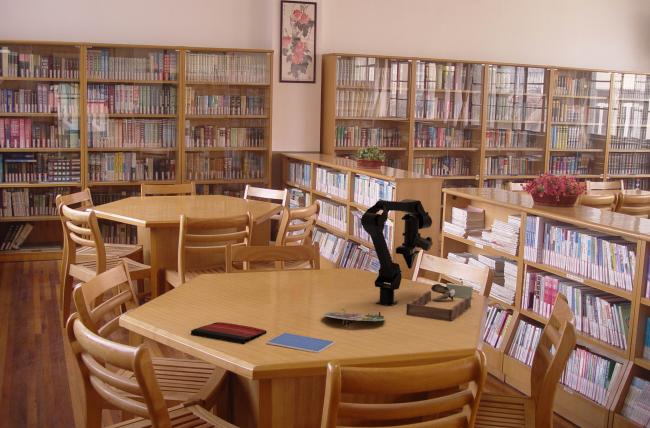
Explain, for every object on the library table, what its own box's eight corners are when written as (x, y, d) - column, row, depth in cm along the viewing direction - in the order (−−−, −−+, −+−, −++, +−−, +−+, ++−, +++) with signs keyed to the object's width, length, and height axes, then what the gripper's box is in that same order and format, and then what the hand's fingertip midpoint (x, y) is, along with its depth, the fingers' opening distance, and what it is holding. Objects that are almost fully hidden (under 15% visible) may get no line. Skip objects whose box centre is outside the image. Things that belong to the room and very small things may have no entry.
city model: (395, 322, 290) (395, 305, 290) (383, 331, 267) (383, 313, 267) (330, 317, 297) (330, 301, 297) (312, 326, 274) (313, 308, 274)
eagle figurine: (449, 294, 321) (428, 291, 319) (455, 282, 317) (434, 278, 315) (452, 308, 315) (431, 304, 313) (458, 296, 311) (437, 292, 309)
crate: (451, 321, 285) (451, 310, 284) (406, 314, 292) (406, 304, 292) (470, 306, 307) (471, 296, 306) (428, 300, 314) (428, 290, 314)
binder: (244, 338, 251) (190, 329, 260) (244, 345, 251) (190, 336, 260) (269, 328, 266) (217, 320, 275) (269, 335, 266) (217, 326, 275)
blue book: (336, 344, 255) (336, 340, 255) (318, 355, 244) (318, 351, 244) (284, 336, 263) (284, 332, 263) (265, 345, 252) (265, 341, 252)
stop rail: (470, 299, 318) (471, 287, 318) (445, 295, 323) (446, 284, 322) (472, 298, 320) (472, 286, 320) (447, 294, 325) (447, 283, 324)
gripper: (422, 235, 304) (420, 274, 306) (438, 229, 320) (436, 266, 322) (395, 232, 309) (394, 271, 311) (412, 227, 325) (411, 263, 327)
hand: (410, 268), depth 318 cm, fingers closed
